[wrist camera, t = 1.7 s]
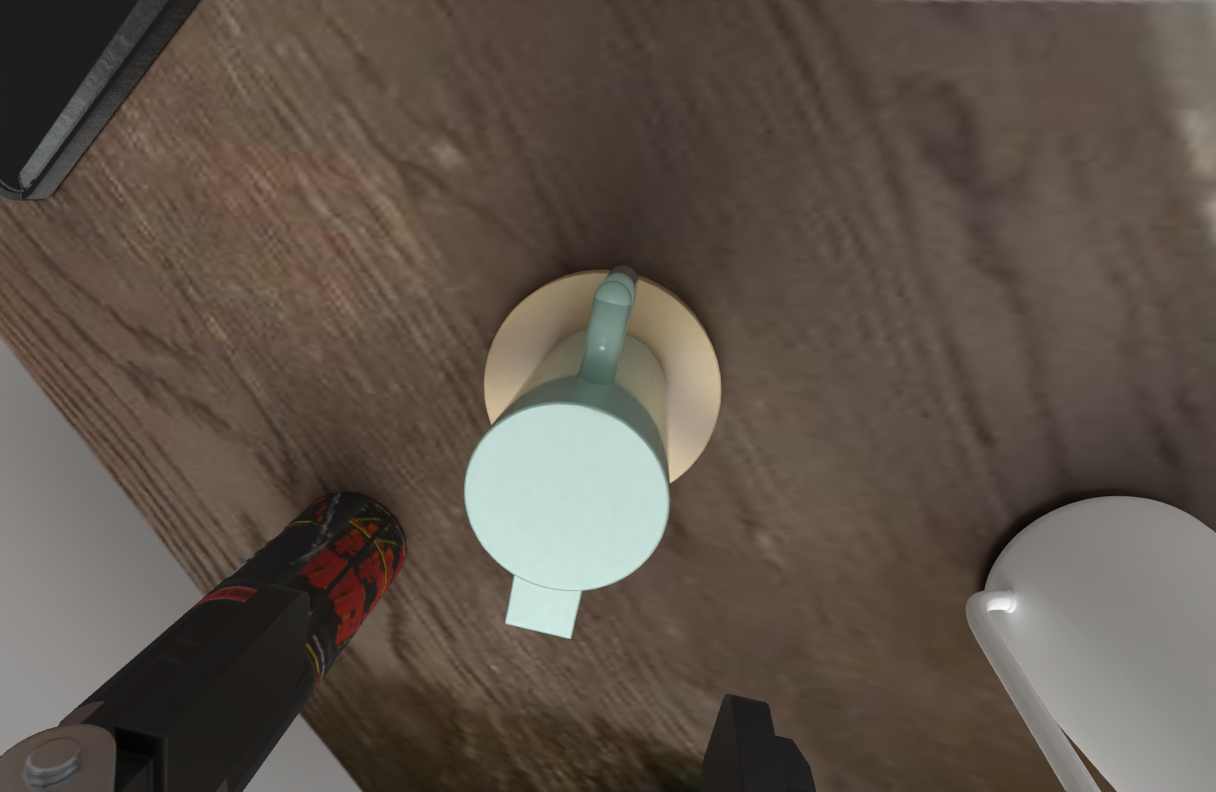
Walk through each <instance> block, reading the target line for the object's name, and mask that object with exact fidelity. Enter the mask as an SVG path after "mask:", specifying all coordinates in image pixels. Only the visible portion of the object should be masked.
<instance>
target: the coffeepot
mask: <svg viewBox="0 0 1216 792" xmlns="http://www.w3.org/2000/svg"><path fill="white" fill-rule="evenodd" d="M966 617H967V620H968V623H969V626H970V628H971V630H972V632H973V634H974V635H975V637H976V639H977V641H978V643H979V645H980V646H981V648H982V650H983V652H984V653H985V655H986V657H987V658H988V660H989V662H990V663H991V665H992V667H993V669H994V670H995V672H996V674H997V675H998V677H999V679H1000V680H1001V682H1002V684H1003V686H1004V687H1005V689H1006V691H1007V692H1008V694H1009V696H1010V697H1011V699H1012V701H1013V703H1014V704H1015V706H1016V708H1017V709H1018V711H1019V713H1020V714H1021V716H1022V718H1023V719H1024V721H1025V723H1026V725H1027V726H1028V728H1029V730H1030V731H1031V733H1032V735H1033V736H1034V738H1035V740H1036V741H1037V743H1038V745H1039V747H1040V748H1041V750H1042V752H1043V753H1044V755H1045V757H1046V758H1047V760H1048V762H1049V763H1050V765H1051V767H1052V769H1053V770H1054V772H1055V774H1056V775H1057V777H1058V779H1059V780H1060V782H1061V784H1062V785H1063V787H1064V789H1065V791H1066V792H1101V791H1100V789H1099V788H1098V786H1097V785H1096V783H1095V781H1094V780H1093V778H1092V777H1091V775H1090V774H1089V772H1088V771H1087V769H1086V767H1085V766H1084V764H1083V763H1082V761H1081V760H1080V758H1079V757H1078V755H1077V754H1076V752H1075V751H1074V749H1073V747H1072V746H1071V744H1070V743H1069V741H1068V740H1067V738H1066V737H1065V735H1064V734H1063V732H1062V731H1061V729H1060V727H1061V728H1062V729H1063V730H1064V731H1065V733H1066V734H1067V735H1068V736H1069V737H1070V738H1071V739H1072V741H1073V742H1074V743H1075V744H1076V745H1077V746H1078V747H1079V749H1080V750H1081V751H1082V752H1083V753H1084V754H1085V756H1086V757H1087V758H1088V759H1089V760H1090V761H1091V762H1092V764H1093V765H1094V766H1095V767H1096V768H1097V769H1098V770H1099V772H1100V773H1101V774H1102V775H1103V776H1104V777H1105V778H1106V780H1107V781H1108V782H1109V783H1110V784H1111V785H1112V786H1113V788H1114V789H1115V790H1116V791H1117V792H1216V532H1214V531H1213V530H1211V529H1210V528H1209V527H1207V526H1206V525H1205V524H1203V523H1202V522H1200V521H1199V520H1198V519H1196V518H1194V517H1193V516H1191V515H1189V514H1188V513H1186V512H1184V511H1182V510H1180V509H1178V508H1175V507H1173V506H1171V505H1168V504H1165V503H1162V502H1159V501H1155V500H1151V499H1146V498H1139V497H1130V496H1106V497H1097V498H1091V499H1086V500H1082V501H1078V502H1075V503H1071V504H1068V505H1066V506H1063V507H1060V508H1058V509H1056V510H1054V511H1051V512H1049V513H1047V514H1046V515H1044V516H1042V517H1040V518H1038V519H1037V520H1035V521H1034V522H1032V523H1031V524H1029V525H1028V526H1027V527H1025V528H1024V529H1023V530H1022V531H1021V532H1019V533H1018V534H1017V535H1016V536H1015V537H1014V538H1013V539H1012V540H1011V541H1010V542H1009V543H1008V545H1007V546H1006V547H1005V548H1004V550H1003V551H1002V552H1001V554H1000V555H999V556H998V558H997V560H996V561H995V563H994V565H993V567H992V569H991V571H990V573H989V576H988V578H987V581H986V585H985V589H984V591H980V592H977V593H975V594H973V595H972V596H971V597H970V598H969V599H968V601H967V603H966ZM1056 722H1057V723H1058V724H1057V723H1056ZM1058 725H1059V726H1060V727H1059V726H1058Z"/></svg>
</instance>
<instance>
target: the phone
mask: <svg viewBox="0 0 1216 792" xmlns="http://www.w3.org/2000/svg"><path fill="white" fill-rule="evenodd" d="M198 1H199V0H0V194H1V195H2V196H4V197H6V198H8V199H11V200H44V199H47V198H48V197H49V196H51V195H52V194H53V192H54V191H55V190H56V188H57V187H58V186H59V185H60V183H61V182H62V181H63V179H64V178H65V177H66V175H67V174H68V173H69V171H70V170H71V169H72V167H73V166H74V165H75V163H76V162H77V161H78V159H79V158H80V157H81V155H82V154H83V153H84V151H85V150H86V149H87V147H88V146H89V145H90V144H91V142H92V141H93V140H94V138H95V137H96V136H97V134H98V133H99V132H100V130H101V129H102V128H103V126H104V125H105V124H106V122H107V121H108V120H109V118H110V117H111V116H112V114H113V113H114V112H115V110H116V109H117V108H118V107H119V105H120V104H121V103H122V101H123V100H124V99H125V97H126V96H127V95H128V93H129V92H130V91H131V89H132V88H133V87H134V85H135V84H136V83H137V81H138V80H139V79H140V77H141V76H142V75H143V73H144V72H145V71H146V69H147V68H148V67H149V66H150V64H151V63H152V62H153V60H154V59H155V58H156V56H157V55H158V54H159V52H160V51H161V50H162V48H163V47H164V46H165V44H166V43H167V42H168V40H169V39H170V38H171V36H172V35H173V34H174V32H175V31H176V30H177V29H178V27H179V26H180V25H181V23H182V22H183V21H184V19H185V18H186V17H187V15H188V14H189V13H190V11H191V10H192V9H193V7H194V6H195V5H196V3H197V2H198Z"/></svg>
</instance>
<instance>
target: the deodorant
mask: <svg viewBox="0 0 1216 792" xmlns="http://www.w3.org/2000/svg"><path fill="white" fill-rule="evenodd" d="M405 557H406V540H405V537H404V534H403V531H402V528H401V526H400V525H399V523H398V522H397V520H396V518H395V517H394V516H393V515H392V514H391V513H390V512H389V511H388V510H387V509H386V508H385V507H384V506H383V505H381V504H380V503H378V502H377V501H375V500H374V499H372V498H369V497H367V496H364V495H361V494H358V493H350V492H338V493H332V494H328V495H326V496H324V497H321V498H319V499H317V500H316V501H315V502H314V503H313V504H311V505H310V506H309V507H308V508H307V509H306V510H305V511H303V512H302V513H301V514H300V515H299V516H298V517H296V518H295V519H294V520H293V521H292V522H291V523H289V524H288V525H287V526H286V527H285V528H284V529H283V530H281V531H280V532H279V533H278V534H277V535H276V536H274V537H273V538H272V539H271V540H270V541H269V542H267V543H266V544H265V545H264V546H263V547H262V548H261V549H259V550H258V551H257V552H256V553H255V554H254V555H252V556H251V557H250V558H249V559H248V560H247V561H246V562H244V563H243V564H242V565H241V566H240V567H239V568H237V569H236V570H235V571H234V572H233V573H232V574H230V575H229V576H228V577H227V578H226V579H225V580H224V581H222V582H221V583H220V584H219V585H218V586H217V587H215V588H214V589H213V590H212V591H211V592H210V593H209V594H207V595H206V596H205V597H204V598H203V599H202V600H200V601H199V602H198V603H197V604H196V605H195V606H194V607H192V608H191V609H190V610H189V611H188V612H187V613H185V614H184V615H183V616H182V617H181V618H180V619H178V620H177V621H176V622H175V623H174V624H173V625H171V626H170V627H169V628H168V629H167V630H166V631H165V632H163V633H162V634H161V635H160V636H159V637H158V638H156V639H155V640H154V641H153V642H152V643H151V644H150V645H148V646H147V647H146V648H145V649H144V650H143V651H141V652H140V653H139V654H138V655H137V656H136V657H134V658H133V659H132V660H131V661H130V662H129V663H128V664H126V665H125V666H124V667H123V668H122V669H121V670H120V671H118V672H117V673H116V674H115V675H114V676H113V677H111V678H110V679H109V680H108V681H107V682H106V683H104V684H103V685H102V686H101V687H100V688H99V689H98V690H96V691H95V692H94V693H93V694H92V695H91V696H89V697H88V698H87V699H86V700H85V701H84V702H82V703H81V704H80V705H79V706H78V707H77V708H75V709H74V710H73V711H72V712H71V713H70V714H69V715H67V716H66V717H65V718H64V719H63V720H62V721H61V722H60V724H59V725H58V726H63V725H69V724H80V723H81V722H82V721H84V720H85V719H86V718H87V717H88V716H89V715H90V714H91V713H93V712H94V711H95V710H96V709H97V708H98V707H99V706H100V705H101V704H103V703H104V702H105V701H106V700H107V699H108V698H109V697H110V696H112V695H113V694H114V693H115V692H116V691H117V690H118V689H119V688H120V687H122V686H123V685H124V684H125V683H126V682H127V681H128V680H129V679H131V678H132V677H133V676H134V675H135V674H136V673H137V672H138V671H139V670H141V669H142V668H143V667H144V666H145V665H146V664H147V663H148V662H150V661H151V660H152V659H156V657H157V654H158V653H160V652H161V651H162V650H163V649H164V648H165V647H166V646H167V645H169V644H170V643H171V642H174V641H175V640H176V637H177V636H179V635H180V634H181V633H182V632H183V631H184V630H185V629H186V628H188V627H189V626H190V625H191V624H192V623H193V622H194V621H195V620H196V619H198V618H199V617H201V616H203V615H205V614H207V613H210V612H212V611H214V610H216V609H218V608H220V607H222V606H224V605H226V604H232V605H237V606H241V605H242V604H243V603H244V602H245V601H246V600H247V599H249V598H250V597H251V596H252V595H253V594H254V593H255V592H256V591H257V590H258V589H259V588H260V587H261V586H262V585H264V584H266V583H271V584H275V585H280V586H284V587H288V588H292V589H296V590H301V591H305V592H307V593H308V594H309V599H310V604H309V615H308V626H307V638H306V649H305V659H304V664H303V668H302V671H301V674H300V676H299V679H298V681H297V683H296V685H295V687H294V689H293V690H292V692H291V694H290V695H289V696H288V698H287V699H286V700H285V702H284V703H283V704H282V706H281V707H280V708H279V709H278V711H277V712H276V713H275V715H274V716H273V717H272V719H271V720H270V721H269V723H268V724H267V725H266V727H265V728H264V729H263V731H262V732H261V733H260V734H259V736H258V737H257V738H256V740H255V741H254V742H253V744H252V745H251V746H250V748H249V749H248V750H247V752H246V753H245V754H244V756H243V757H242V758H241V759H240V761H239V762H238V763H237V765H236V766H235V767H234V769H233V770H232V771H231V773H230V774H229V775H228V777H227V778H226V779H225V781H224V782H223V783H222V784H221V786H220V787H219V788H218V790H217V791H216V792H243V790H244V789H245V788H246V786H247V785H248V783H249V782H250V781H251V779H252V778H253V776H254V775H255V774H256V772H257V771H258V769H259V768H260V767H261V765H262V764H263V762H264V761H265V760H266V758H267V757H268V755H269V754H270V753H271V751H272V750H273V748H274V747H275V746H276V744H277V743H278V741H279V740H280V738H281V737H282V736H283V734H284V733H285V732H286V730H287V728H288V727H289V726H290V725H291V723H292V721H293V720H294V719H295V718H296V716H297V715H298V713H299V712H300V711H301V709H302V708H303V706H304V705H305V704H306V702H307V701H308V699H309V698H310V697H311V695H312V694H313V692H314V691H315V690H316V688H317V687H318V685H319V684H320V683H321V681H322V680H323V678H324V677H325V676H326V674H327V673H328V671H329V670H330V668H331V667H332V666H333V664H334V663H335V661H336V660H337V659H338V657H339V656H340V654H341V653H342V652H343V650H344V649H345V647H346V646H347V645H348V643H349V642H350V640H351V639H352V638H353V636H354V635H355V633H356V632H357V631H358V629H359V628H360V626H361V625H362V624H363V622H364V621H365V619H366V618H367V617H368V615H369V614H370V612H371V611H372V610H373V608H374V607H375V605H376V604H377V603H378V601H379V600H380V598H381V597H382V596H383V594H384V593H385V591H386V590H387V589H388V587H389V586H390V584H391V583H392V582H393V580H394V579H395V577H396V576H397V574H398V573H399V571H400V570H401V568H402V567H403V564H404V561H405Z"/></svg>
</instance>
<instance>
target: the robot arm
mask: <svg viewBox="0 0 1216 792" xmlns="http://www.w3.org/2000/svg"><path fill="white" fill-rule="evenodd" d="M309 604H310V599H309V594H308V593H307V592H305V591H301V590H296V589H292V588H288V587H284V586H280V585H275V584H271V583H266V584H264V585H262V586H261V587H260V588H259V589H258V590H257V591H256V592H255V593H254V594H253V595H252V596H251V597H250V598H249V599H247V600H246V601H245V602H244V603H243V604H242V605H241V606H237V605H232V604H226V605H224V606H222V607H220V608H218V609H216V610H214V611H212V612H210V613H207V614H205V615H203V616H201V617H199V618H198V619H196V620H195V621H194V622H193V623H192V624H191V625H190V626H189V627H188V628H186V629H185V630H184V631H183V632H182V633H181V634H180V635H179V636H177V637H176V640H175V641H174V642H171V643H170V644H169V645H167V646H166V647H165V648H164V649H163V650H162V651H161V652H160V653H158V654H157V657H156V659H152V660H151V661H150V662H148V663H147V664H146V665H145V666H144V667H143V668H142V669H141V670H139V671H138V672H137V673H136V674H135V675H134V676H133V677H132V678H131V679H129V680H128V681H127V682H126V683H125V684H124V685H123V686H122V687H120V688H119V689H118V690H117V691H116V692H115V693H114V694H113V695H112V696H110V697H109V698H108V699H107V700H106V701H105V702H104V703H103V704H101V705H100V706H99V707H98V708H97V709H96V710H95V711H94V712H93V713H91V714H90V715H89V716H88V717H87V718H86V719H85V720H84V721H82V722H81V723H80V724H69V725H63V726H58V727H54V728H51V729H47V730H45V731H42V732H39V733H36V734H34V735H32V736H30V737H28V738H26V739H25V740H22V741H21V742H20V743H17V744H16V745H15V746H13V747H12V748H10V749H9V750H7V751H6V752H5V753H4V754H3V755H2V756H0V792H216V791H217V790H218V788H219V787H220V786H221V784H222V783H223V782H224V781H225V779H226V778H227V777H228V775H229V774H230V773H231V771H232V770H233V769H234V767H235V766H236V765H237V763H238V762H239V761H240V759H241V758H242V757H243V756H244V754H245V753H246V752H247V750H248V749H249V748H250V746H251V745H252V744H253V742H254V741H255V740H256V738H257V737H258V736H259V734H260V733H261V732H262V731H263V729H264V728H265V727H266V725H267V724H268V723H269V721H270V720H271V719H272V717H273V716H274V715H275V713H276V712H277V711H278V709H279V708H280V707H281V706H282V704H283V703H284V702H285V700H286V699H287V698H288V696H289V695H290V694H291V692H292V690H293V689H294V687H295V685H296V683H297V681H298V679H299V676H300V674H301V671H302V668H303V664H304V659H305V649H306V638H307V626H308V615H309ZM700 792H816V789H815V785H814V781H813V777H812V773H811V769H810V766H809V764H808V762H807V761H806V759H805V758H804V756H803V755H802V753H801V752H800V750H799V749H798V747H797V746H796V744H795V743H794V741H793V740H792V739H788V738H784V737H780V736H775V733H774V728H773V723H772V718H771V713H770V709H769V706H768V704H767V703H766V702H762V701H758V700H754V699H749V698H745V697H741V696H737V695H733V694H726V695H725V697H724V699H723V701H722V704H721V707H720V710H719V713H718V716H717V719H716V722H715V725H714V729H713V732H712V735H711V738H710V741H709V744H708V747H707V750H706V753H705V756H704V760H703V765H702V771H701V779H700Z"/></svg>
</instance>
